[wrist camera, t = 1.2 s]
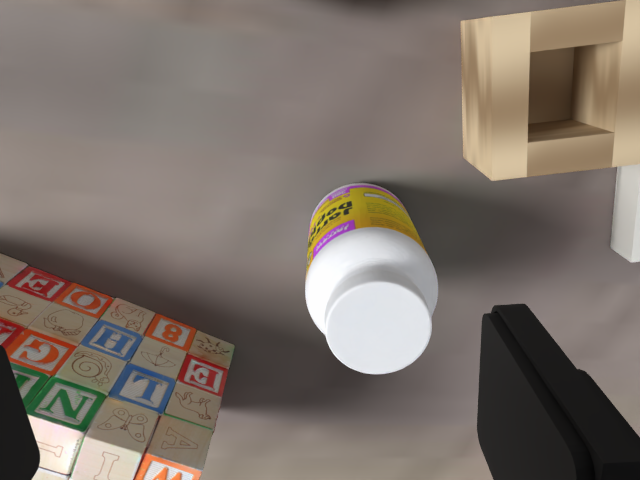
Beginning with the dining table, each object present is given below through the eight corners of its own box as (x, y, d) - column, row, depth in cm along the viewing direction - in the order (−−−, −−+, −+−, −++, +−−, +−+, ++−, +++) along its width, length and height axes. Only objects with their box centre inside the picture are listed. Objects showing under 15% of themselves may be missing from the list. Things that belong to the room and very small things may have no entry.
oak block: (460, 21, 30) (492, 16, 25) (600, 3, 30) (665, -6, 24) (462, 157, 33) (492, 180, 27) (590, 142, 33) (646, 163, 27)
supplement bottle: (345, 160, 33) (360, 229, 21) (429, 214, 34) (488, 308, 22) (289, 243, 35) (274, 349, 23) (370, 291, 36) (396, 416, 24)
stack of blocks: (-78, 302, 37) (-260, 422, 25) (-61, 226, 35) (-250, 319, 23) (208, 407, 40) (163, 556, 28) (238, 343, 38) (203, 476, 26)
